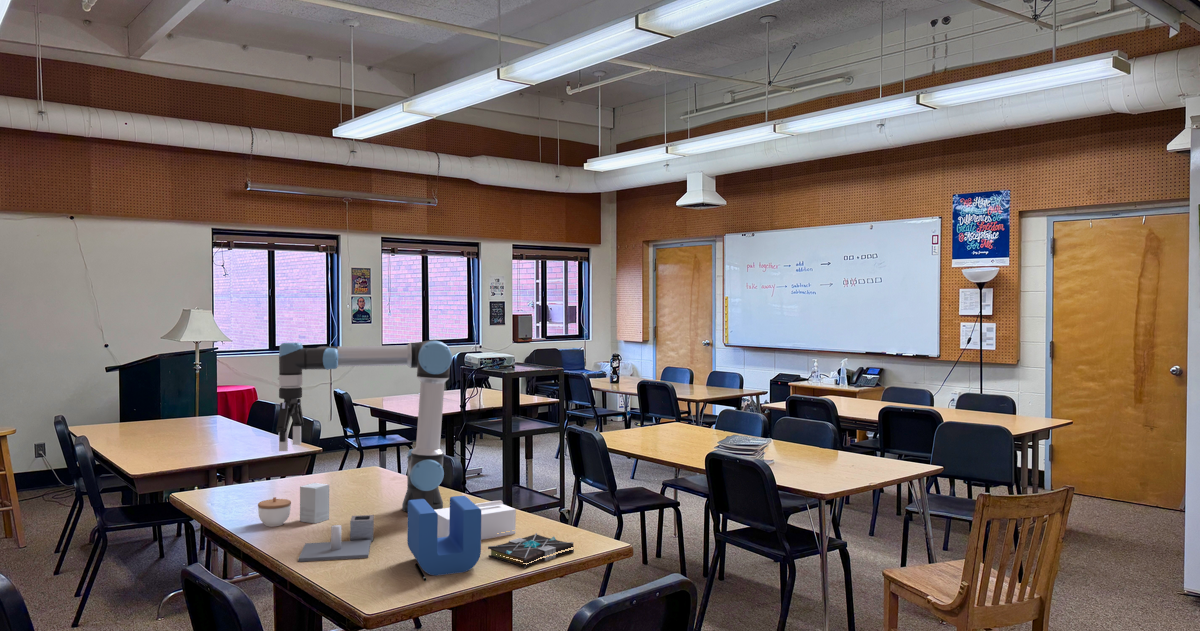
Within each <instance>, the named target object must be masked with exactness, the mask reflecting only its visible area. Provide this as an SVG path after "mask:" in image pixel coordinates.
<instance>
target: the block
mask: <svg viewBox="0 0 1200 631" xmlns="http://www.w3.org/2000/svg"><path fill="white" fill-rule="evenodd" d="M475 504H476V503H474V502H473V501H472V500H471V499H470V498H469V497H468V496H466V495H456V496H450V498H449V508H450V525H449V536H448V537H440V538H437V536H438V514H437V513H436V512H435V510H434V509H433V508H432V507H431V506H430V505H429V504H428V503H427V502H426V500H425V499H416V500H409V501H408V512H407V533H406V534H407V535H406V536H407V537H406V538H407V539H406V540H407V547H408V549H409V551H410V552H411V554H412V555H413V557H414V558H415V560H416V562H417V563H418V565H419V566H420V568H421V569H422V570H423V571H424V572H425V573H426V574H428V575H430V576H445V575H451V574H452V575H454V574H459V573H465V572H468V571H470V570H471V569H473V568H474V567H475V566H476V564H477V563H478V562H479V560H480V558H481V554H482V553H481V552H482V540H481V509H480V508H479V507H477V506H476V505H475Z"/></svg>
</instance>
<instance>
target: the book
mask: <svg viewBox="0 0 1200 631" xmlns="http://www.w3.org/2000/svg"><path fill="white" fill-rule="evenodd" d="M571 547H574V542H573V541H571V542H570V541H569V542H567V541H562V540H557V539H556V537H555V536H552V537H551V538H549V537H547V536H543V535H540V534H538V533H537V532H535V534H532V535H528V536H525V537H517V538H515V539H510V540H508V542H506V543H502V544H497V545H490V546H489V545H488V546H487V549H488V550H490V554H488V557H489V558H493V559H496V560H497V559H498V560H500V561H505V562H507V563H510V564H513V565H516V566H518V567H521V568H524V569H526V568H528V567H529V566H532V565H535V564H538V563H541V562H548V561H550V560H553V559H556V558H557V557H559V556H563V555H566V554H570V553H574V552H575V550H574V549H575V547H574V549H573V550H569V551H565V552H562V553H558V554H556V555H553V556H549V557H546V558H542V559H539V560H537V561H534V560H536V559H538V558H540V557H543V556H547V555H550V554H553V553H555V552H558V551H561V550H565V549H568V548H571ZM496 554H497V555H496ZM500 555H501V556H500ZM503 556H505V557H503ZM506 557H509V558H506ZM510 558H513V559H518V560H521V561H523V562H520V561H516V560H513V559H510ZM531 561H534V562H532V563H529V562H531ZM523 563H529V564H527V565H526V564H523Z"/></svg>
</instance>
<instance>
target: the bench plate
mask: <svg viewBox="0 0 1200 631" xmlns="http://www.w3.org/2000/svg"><path fill="white" fill-rule="evenodd" d="M330 529H331V530H330V541H324V542H323V541H322V542H305V543H304V546H303V547H302V550H301V551H300V555H299V557H298V558H297V561H298V563H299V562H301V563H302V562H319V561H321V562H322V561H333V560H334V561H336V560H353V559H368V558H369V555H370V549H371V544H372V542H371V540H360V541H350V540H344V541H343V540H342V525H341V524H335V525H331V527H330Z"/></svg>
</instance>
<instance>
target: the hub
mask: <svg viewBox="0 0 1200 631" xmlns="http://www.w3.org/2000/svg"><path fill="white" fill-rule="evenodd" d="M349 523H350V527H349V533H350V534H349V541H360V540H371V543H373V541H374V534H375V533H374V532H375V530H374V528H375V516H374V514H364V515H361V514H359V515H352V516H351V518H350V522H349Z"/></svg>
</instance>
